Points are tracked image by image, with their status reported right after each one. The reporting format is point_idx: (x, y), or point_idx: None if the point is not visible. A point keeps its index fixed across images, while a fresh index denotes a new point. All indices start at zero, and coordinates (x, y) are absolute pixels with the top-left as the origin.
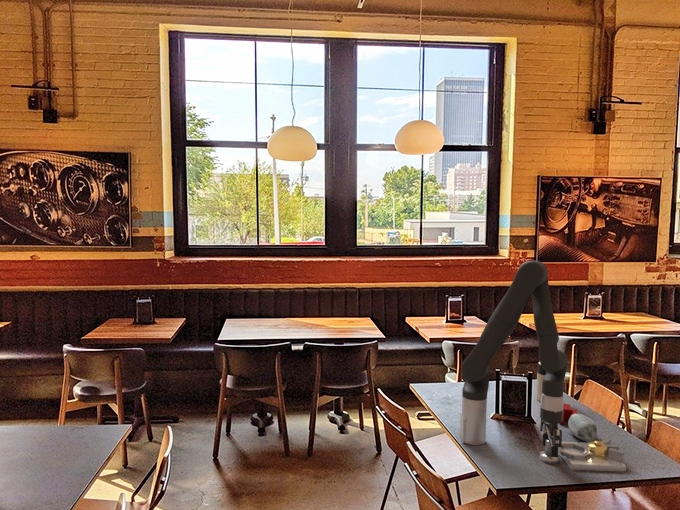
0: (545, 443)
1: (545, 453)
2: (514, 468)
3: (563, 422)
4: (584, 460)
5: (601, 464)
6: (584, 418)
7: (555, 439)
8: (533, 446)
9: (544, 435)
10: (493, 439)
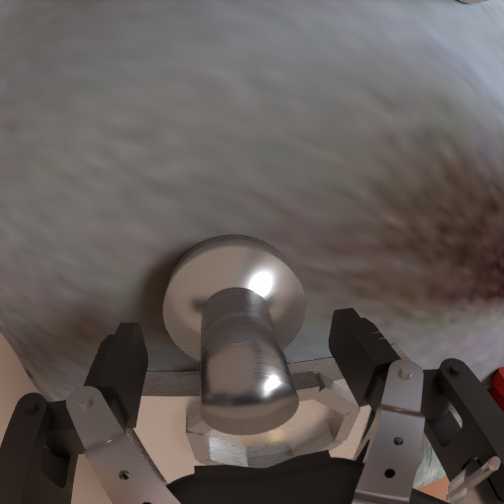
0: (340, 337)
1: (233, 293)
2: (71, 22)
3: (493, 383)
4: (182, 443)
5: (161, 468)
6: (442, 476)
7: (2, 465)
8: (417, 246)
9: (379, 379)
10: (475, 48)
